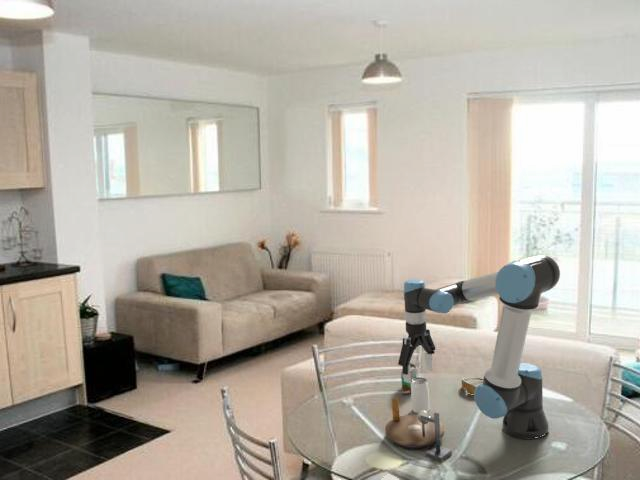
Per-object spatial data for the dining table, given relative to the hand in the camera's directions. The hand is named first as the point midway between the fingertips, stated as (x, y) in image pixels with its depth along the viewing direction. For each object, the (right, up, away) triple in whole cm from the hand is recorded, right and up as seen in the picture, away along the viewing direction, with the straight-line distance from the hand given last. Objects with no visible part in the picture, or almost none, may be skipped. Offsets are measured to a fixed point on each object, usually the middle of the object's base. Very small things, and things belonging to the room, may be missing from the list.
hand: (418, 375), depth 242 cm
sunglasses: (+28, -9, +17) cm, 34 cm away
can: (+1, -14, +2) cm, 14 cm away
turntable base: (-4, -18, -19) cm, 26 cm away
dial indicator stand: (0, -19, -30) cm, 36 cm away
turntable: (-4, -15, -19) cm, 25 cm away
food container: (0, -10, +21) cm, 23 cm away
